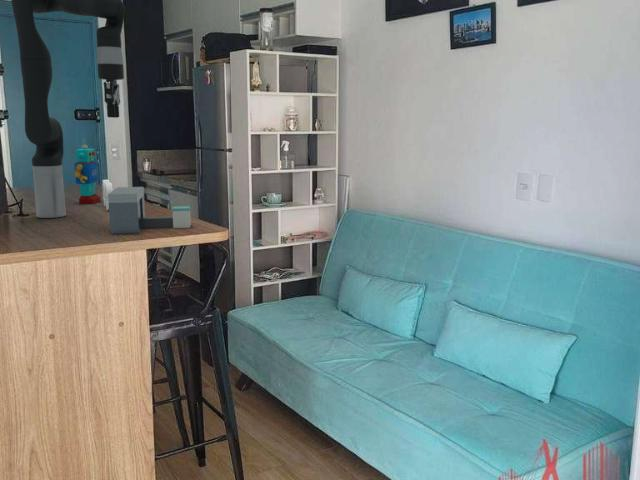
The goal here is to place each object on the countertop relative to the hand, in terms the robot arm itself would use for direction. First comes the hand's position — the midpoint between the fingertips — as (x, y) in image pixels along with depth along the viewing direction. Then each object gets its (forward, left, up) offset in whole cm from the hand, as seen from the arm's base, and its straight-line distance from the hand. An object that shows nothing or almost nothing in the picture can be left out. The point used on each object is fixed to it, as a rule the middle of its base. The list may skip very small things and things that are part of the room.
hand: (113, 117), depth 197 cm
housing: (+10, +4, -33) cm, 35 cm away
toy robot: (-53, -19, -33) cm, 65 cm away
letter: (-36, -9, -33) cm, 50 cm away
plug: (+10, +12, -33) cm, 37 cm away
